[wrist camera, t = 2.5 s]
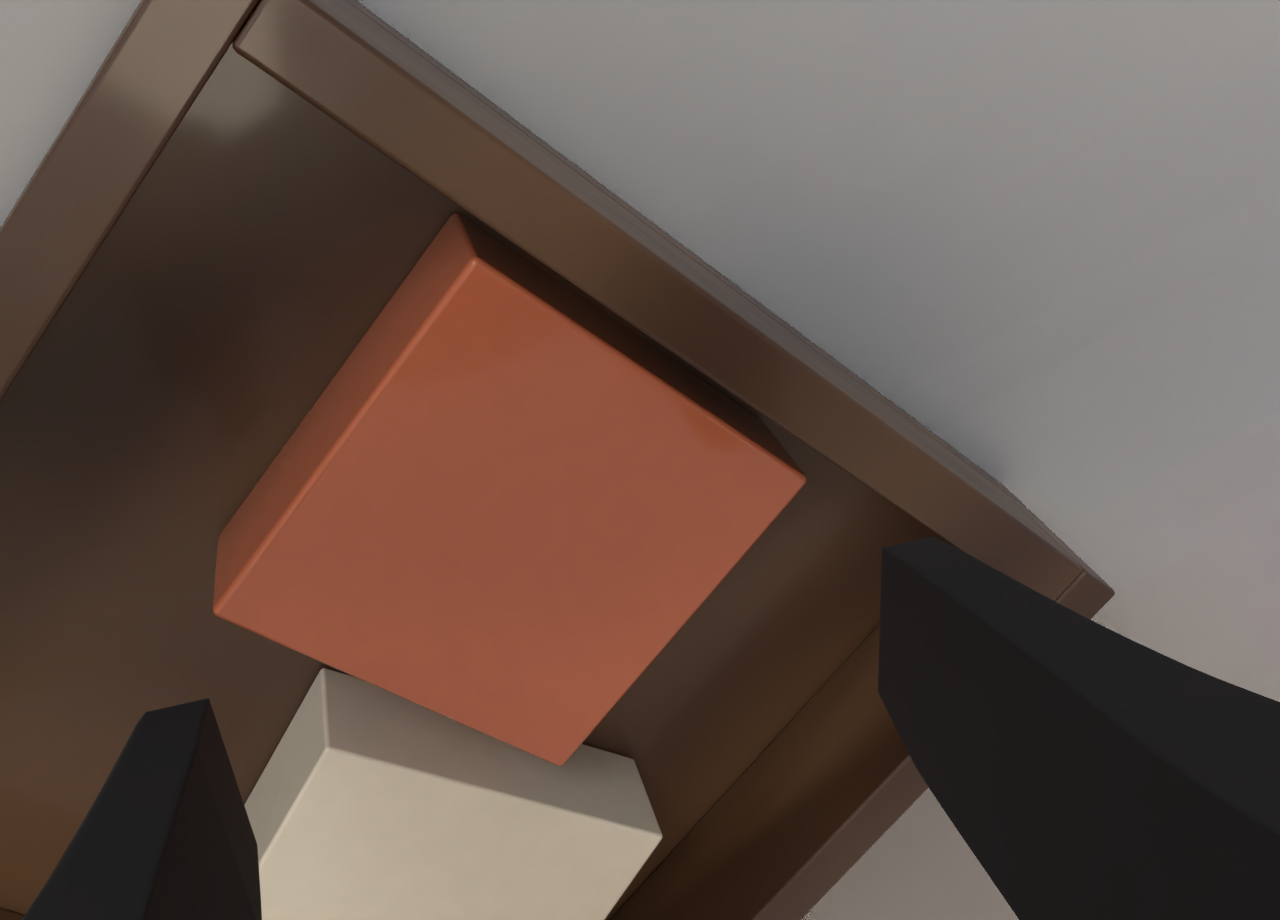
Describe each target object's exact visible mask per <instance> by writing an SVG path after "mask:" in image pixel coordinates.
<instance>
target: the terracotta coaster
mask: <svg viewBox="0 0 1280 920" xmlns="http://www.w3.org/2000/svg"><path fill="white" fill-rule="evenodd" d="M806 482H807V478H806V476H805V474H804V473H803V472H802V471H801V469H800V468H799V467H798V465H797V464H796V463H795V462H794V460H793V459H792V458H791V456H790V455H789V454H788V453H787V451H786V450H785V449H784V447H783V446H782V445H781V444H780V442H779V441H778V440H777V438H776V437H775V436H774V435H773V433H772V432H771V431H770V429H769V428H768V427H767V426H766V424H765V423H764V422H763V421H762V420H761V419H759V418H758V417H756V416H755V415H753V414H752V413H751V412H749V411H748V410H746V409H745V408H743V407H742V406H740V405H739V404H737V403H736V402H734V401H733V400H732V399H730V398H729V397H727V396H726V395H724V394H723V393H721V392H720V391H718V390H717V389H715V388H714V387H713V386H711V385H710V384H708V383H707V382H705V381H704V380H702V379H701V378H699V377H698V376H696V375H695V374H694V373H692V372H691V371H689V370H688V369H686V368H685V367H683V366H682V365H680V364H679V363H677V362H676V361H675V360H673V359H672V358H670V357H669V356H667V355H666V354H664V353H663V352H661V351H660V350H658V349H657V348H656V347H654V346H653V345H651V344H650V343H648V342H647V341H645V340H644V339H642V338H641V337H639V336H638V335H637V334H635V333H634V332H632V331H631V330H629V329H628V328H626V327H625V326H623V325H622V324H620V323H619V322H618V321H616V320H615V319H613V318H612V317H610V316H609V315H607V314H606V313H604V312H603V311H601V310H600V309H599V308H597V307H596V306H594V305H593V304H591V303H590V302H588V301H587V300H585V299H584V298H583V297H581V296H580V295H578V294H577V293H575V292H574V291H572V290H571V289H569V288H568V287H566V286H565V285H564V284H562V283H561V282H559V281H558V280H556V279H555V278H553V277H552V276H550V275H549V274H547V273H546V272H545V271H543V270H542V269H540V268H539V267H537V266H536V265H534V264H533V263H531V262H530V261H528V260H527V259H526V258H524V257H523V256H521V255H520V254H518V253H517V252H515V251H514V250H512V249H511V248H509V247H508V246H507V245H505V244H504V243H502V242H501V241H499V240H498V239H496V238H495V237H493V236H492V235H490V234H489V233H488V232H486V231H485V230H483V229H482V228H480V227H479V226H477V225H476V224H474V223H473V222H471V221H470V220H469V219H467V218H466V217H464V216H463V215H461V214H458V213H454V214H453V215H451V216H450V218H449V219H448V220H447V222H446V223H445V225H444V226H443V227H442V229H441V230H440V232H439V233H438V234H437V236H436V237H435V238H434V240H433V241H432V243H431V244H430V245H429V247H428V248H427V249H426V251H425V252H424V254H423V255H422V256H421V258H420V259H419V261H418V262H417V263H416V265H415V266H414V267H413V269H412V270H411V272H410V273H409V274H408V276H407V277H406V278H405V280H404V281H403V283H402V284H401V285H400V287H399V288H398V289H397V291H396V292H395V294H394V295H393V296H392V298H391V299H390V301H389V302H388V303H387V305H386V306H385V307H384V309H383V310H382V312H381V313H380V314H379V316H378V317H377V318H376V320H375V321H374V323H373V324H372V325H371V327H370V328H369V330H368V331H367V332H366V334H365V335H364V336H363V338H362V339H361V341H360V342H359V343H358V345H357V346H356V347H355V349H354V350H353V352H352V353H351V354H350V356H349V357H348V358H347V360H346V361H345V363H344V364H343V365H342V367H341V368H340V370H339V371H338V372H337V374H336V375H335V376H334V378H333V379H332V381H331V382H330V383H329V385H328V386H327V387H326V389H325V390H324V392H323V393H322V394H321V396H320V397H319V399H318V400H317V401H316V403H315V404H314V405H313V407H312V408H311V410H310V411H309V412H308V414H307V415H306V416H305V418H304V419H303V421H302V422H301V423H300V425H299V426H298V428H297V429H296V430H295V432H294V433H293V434H292V436H291V437H290V439H289V440H288V441H287V443H286V444H285V445H284V447H283V448H282V450H281V451H280V452H279V454H278V455H277V456H276V458H275V459H274V461H273V462H272V463H271V465H270V466H269V468H268V469H267V470H266V472H265V473H264V474H263V476H262V477H261V479H260V480H259V481H258V483H257V484H256V485H255V487H254V488H253V490H252V491H251V492H250V494H249V495H248V497H247V498H246V499H245V501H244V502H243V503H242V505H241V506H240V508H239V509H238V510H237V512H236V513H235V514H234V516H233V517H232V519H231V520H230V521H229V523H228V524H227V525H226V527H225V528H224V530H223V531H222V532H221V534H220V535H219V537H218V540H217V553H216V568H215V583H214V598H213V613H214V614H215V615H216V616H217V617H220V618H222V619H224V620H227V621H229V622H231V623H233V624H236V625H238V626H240V627H242V628H245V629H247V630H249V631H252V632H254V633H256V634H258V635H261V636H263V637H265V638H268V639H270V640H272V641H274V642H277V643H279V644H281V645H283V646H286V647H288V648H290V649H293V650H295V651H297V652H299V653H302V654H304V655H306V656H309V657H311V658H313V659H315V660H318V661H320V662H322V663H325V664H327V665H329V666H331V667H334V668H336V669H338V670H340V671H343V672H345V673H347V674H350V675H352V676H354V677H356V678H359V679H361V680H363V681H366V682H368V683H370V684H372V685H375V686H377V687H379V688H381V689H384V690H386V691H388V692H391V693H393V694H395V695H397V696H400V697H402V698H404V699H407V700H409V701H411V702H413V703H416V704H418V705H420V706H423V707H425V708H427V709H429V710H432V711H434V712H436V713H438V714H441V715H443V716H445V717H448V718H450V719H452V720H454V721H457V722H459V723H461V724H464V725H466V726H468V727H470V728H473V729H475V730H477V731H479V732H482V733H484V734H486V735H489V736H491V737H493V738H495V739H498V740H500V741H502V742H505V743H507V744H509V745H511V746H514V747H516V748H518V749H521V750H523V751H525V752H527V753H530V754H532V755H534V756H536V757H539V758H541V759H543V760H546V761H548V762H550V763H552V764H555V765H557V766H562V765H564V764H565V763H566V762H567V760H568V759H569V758H570V757H571V756H572V755H573V753H574V752H575V751H576V750H577V749H578V748H579V746H580V745H581V744H582V743H583V742H584V741H585V740H586V738H587V737H588V736H589V735H590V734H591V733H592V731H593V730H594V729H595V728H596V727H597V726H598V724H599V723H600V722H601V721H602V720H603V719H604V717H605V716H606V715H607V714H608V713H609V712H610V711H611V709H612V708H613V707H614V706H615V705H616V704H617V702H618V701H619V700H620V699H621V698H622V697H623V695H624V694H625V693H626V692H627V691H628V690H629V688H630V687H631V686H632V685H633V684H634V683H635V682H636V680H637V679H638V678H639V677H640V676H641V675H642V673H643V672H644V671H645V670H646V669H647V668H648V666H649V665H650V664H651V663H652V662H653V661H654V659H655V658H656V657H657V656H658V655H659V654H660V653H661V651H662V650H663V649H664V648H665V647H666V646H667V644H668V643H669V642H670V641H671V640H672V639H673V637H674V636H675V635H676V634H677V633H678V632H679V630H680V629H681V628H682V627H683V626H684V625H685V623H686V622H687V621H688V620H689V619H690V618H691V617H692V615H693V614H694V613H695V612H696V611H697V610H698V608H699V607H700V606H701V605H702V604H703V603H704V601H705V600H706V599H707V598H708V597H709V596H710V594H711V593H712V592H713V591H714V590H715V589H716V588H717V586H718V585H719V584H720V583H721V582H722V581H723V579H724V578H725V577H726V576H727V575H728V574H729V572H730V571H731V570H732V569H733V568H734V567H735V565H736V564H737V563H738V562H739V561H740V560H741V559H742V557H743V556H744V555H745V554H746V553H747V552H748V550H749V549H750V548H751V547H752V546H753V545H754V543H755V542H756V541H757V540H758V539H759V538H760V536H761V535H762V534H763V533H764V532H765V531H766V530H767V528H768V527H769V526H770V525H771V524H772V523H773V521H774V520H775V519H776V518H777V517H778V516H779V514H780V513H781V512H782V511H783V510H784V509H785V507H786V506H787V505H788V504H789V503H790V502H791V500H792V499H793V498H794V497H795V496H796V495H797V494H798V492H799V491H800V490H801V489H802V488H803V487H804V485H805V484H806Z"/></svg>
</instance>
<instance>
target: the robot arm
mask: <svg viewBox="0 0 1280 920" xmlns="http://www.w3.org/2000/svg"><path fill="white" fill-rule="evenodd" d="M878 693H879V695H880V697H881V699H882V701H883V703H884V705H885V707H886V709H887V711H888V713H889V716H890V718H891V720H892V722H893V724H894V726H895V728H896V730H897V732H898V734H899V736H900V738H901V740H902V742H903V744H904V746H905V748H906V750H907V751H908V753H909V755H910V757H911V759H912V761H913V763H914V765H915V767H916V769H917V770H918V772H919V773H920V775H921V776H922V778H923V779H924V781H925V782H926V784H927V785H928V787H929V788H930V790H931V791H932V793H933V794H934V796H935V797H936V799H937V800H938V802H939V803H940V805H941V806H942V808H943V809H944V811H945V812H946V814H947V815H948V817H949V818H950V820H951V821H952V822H953V824H954V825H955V827H956V828H957V830H958V831H959V833H960V834H961V836H962V837H963V839H964V840H965V841H966V843H967V844H968V846H969V847H970V849H971V850H972V852H973V853H974V855H975V856H976V857H977V859H978V860H979V862H980V863H981V865H982V866H983V868H984V869H985V871H986V872H987V873H988V875H989V876H990V878H991V879H992V881H993V882H994V884H995V885H996V887H997V888H998V889H999V891H1000V892H1001V894H1002V895H1003V897H1004V898H1005V900H1006V901H1007V903H1008V904H1009V905H1010V907H1011V908H1012V910H1013V911H1014V913H1015V914H1016V916H1017V917H1018V919H1019V920H1280V702H1277V701H1275V700H1272V699H1270V698H1267V697H1264V696H1262V695H1259V694H1256V693H1254V692H1251V691H1248V690H1246V689H1243V688H1240V687H1238V686H1235V685H1233V684H1230V683H1227V682H1225V681H1222V680H1220V679H1217V678H1215V677H1212V676H1210V675H1208V674H1205V673H1203V672H1200V671H1198V670H1196V669H1193V668H1191V667H1189V666H1186V665H1184V664H1182V663H1180V662H1178V661H1175V660H1173V659H1171V658H1169V657H1167V656H1164V655H1162V654H1160V653H1158V652H1156V651H1154V650H1151V649H1149V648H1147V647H1145V646H1143V645H1140V644H1138V643H1136V642H1134V641H1132V640H1130V639H1128V638H1126V637H1124V636H1122V635H1120V634H1118V633H1116V632H1114V631H1111V630H1109V629H1107V628H1105V627H1103V626H1101V625H1099V624H1097V623H1096V622H1094V621H1092V620H1090V619H1088V618H1086V617H1084V616H1082V615H1080V614H1078V613H1076V612H1074V611H1072V610H1070V609H1068V608H1067V607H1065V606H1063V605H1061V604H1059V603H1057V602H1055V601H1053V600H1051V599H1050V598H1048V597H1046V596H1044V595H1042V594H1040V593H1038V592H1036V591H1035V590H1033V589H1031V588H1029V587H1027V586H1025V585H1024V584H1022V583H1020V582H1018V581H1016V580H1014V579H1013V578H1011V577H1009V576H1007V575H1005V574H1003V573H1002V572H1000V571H998V570H996V569H994V568H993V567H991V566H989V565H987V564H985V563H983V562H981V561H980V560H978V559H976V558H974V557H972V556H970V555H969V554H967V553H965V552H963V551H961V550H959V549H957V548H955V547H953V546H951V545H949V544H947V543H945V542H943V541H941V540H939V539H937V538H935V537H929V538H924V539H920V540H915V541H911V542H906V543H902V544H897V545H893V546H888V547H884V548H882V561H881V597H880V634H879V670H878ZM22 920H262V911H261V893H260V878H259V864H258V849H257V842H256V839H255V836H254V833H253V830H252V827H251V824H250V821H249V818H248V815H247V812H246V809H245V806H244V803H243V800H242V797H241V794H240V791H239V788H238V785H237V782H236V779H235V776H234V773H233V769H232V766H231V763H230V760H229V757H228V754H227V751H226V748H225V745H224V742H223V739H222V736H221V733H220V730H219V727H218V724H217V721H216V718H215V715H214V712H213V709H212V706H211V703H210V700H209V698H207V699H202V700H198V701H193V702H189V703H184V704H180V705H175V706H171V707H166V708H162V709H157V710H153V711H148V712H145V714H144V715H143V716H142V717H141V719H140V720H139V721H138V723H137V724H136V726H135V728H134V730H133V732H132V734H131V735H130V737H129V739H128V741H127V743H126V745H125V747H124V748H123V750H122V752H121V754H120V756H119V758H118V760H117V762H116V763H115V765H114V767H113V769H112V771H111V773H110V774H109V776H108V778H107V780H106V782H105V784H104V785H103V787H102V789H101V791H100V792H99V794H98V796H97V798H96V800H95V801H94V803H93V805H92V807H91V808H90V810H89V812H88V814H87V815H86V817H85V819H84V821H83V822H82V824H81V826H80V827H79V829H78V831H77V832H76V834H75V836H74V837H73V839H72V841H71V842H70V844H69V846H68V847H67V849H66V850H65V852H64V854H63V855H62V857H61V859H60V860H59V862H58V864H57V865H56V867H55V869H54V870H53V872H52V874H51V875H50V877H49V879H48V880H47V882H46V883H45V885H44V887H43V888H42V890H41V891H40V893H39V894H38V896H37V897H36V899H35V900H34V902H33V903H32V905H31V906H30V908H29V909H28V911H27V912H26V914H25V915H24V917H23V918H22Z"/></svg>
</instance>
